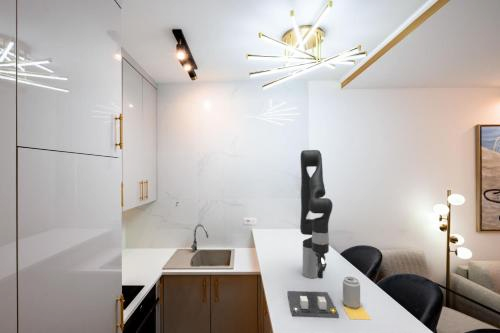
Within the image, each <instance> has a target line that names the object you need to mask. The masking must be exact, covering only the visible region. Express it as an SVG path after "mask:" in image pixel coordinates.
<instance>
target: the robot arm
mask: <svg viewBox="0 0 500 333" xmlns="http://www.w3.org/2000/svg"><path fill="white" fill-rule="evenodd" d="M309 167H310V168H313V167H315V170H314V172H313V174H311V176H310V174H309V172H308V168H309ZM323 171H324V170H323V158H322V153H321V151H320V150H319V149H305V150H302V151H301V152H300V173H301V175H300V176H301V177H300V178H301V181H300V182H301V184H300V211H301V212H300V226H299V229H300V233H301V234H302V235H305V236H311V237H309V238H306V239H303V241H302V275H303V277H305V278H308V279H309V278H310V279H323V278H324V272H325V270H326V269H327V268H326V267H327V263H326V255H325V254H328V253H329V252H330V251H329V250H330V247H329V245H330V236H329V222H330V217H331V214H332V212H333V211H332V210H333V202H332V200H331V199H330V198H328V197H325V195H326V189H325V183H324V176H323V174H324V173H323ZM309 213H312V214H322V215H321V216H320V217H319V216H318V217H315V218H312V219H311V218H307V217H308V215H309Z"/></svg>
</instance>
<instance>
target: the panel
mask: <svg viewBox="0 0 500 333" xmlns="http://www.w3.org/2000/svg"><path fill="white" fill-rule="evenodd" d="M286 294H287V298H288V303H289V309H290V314H291V317H304V318H305V317H306V318H307V317H308V318H330V319H331V318H333V319H339V318H340V315H339V312H338V310H337V308H336V306H335V304H334V303H333V300H332V299H331V296H330V295H329V293H328V291H303V290H302V291H301V290H287V293H286ZM300 296H307V299H308V309H301V306H300ZM318 297H325V300H326V302H327V310H322V309H319V307H318Z"/></svg>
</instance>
